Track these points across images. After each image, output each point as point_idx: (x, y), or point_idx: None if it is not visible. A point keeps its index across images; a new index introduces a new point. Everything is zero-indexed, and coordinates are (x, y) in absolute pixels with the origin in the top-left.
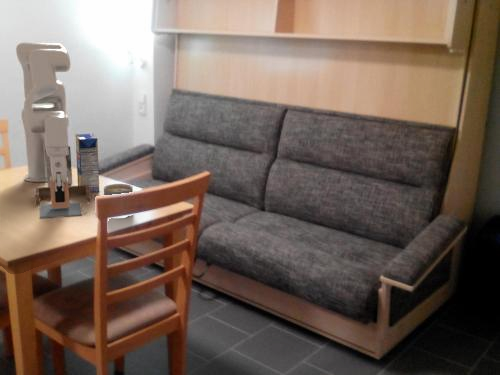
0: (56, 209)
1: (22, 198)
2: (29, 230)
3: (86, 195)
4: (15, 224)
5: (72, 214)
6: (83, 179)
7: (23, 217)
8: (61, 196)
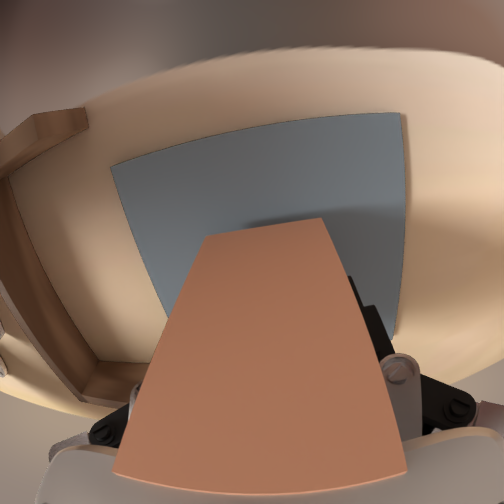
0: None
1: None
2: (493, 325)
3: (32, 153)
4: None
5: (399, 179)
6: None
7: None
8: (382, 332)
